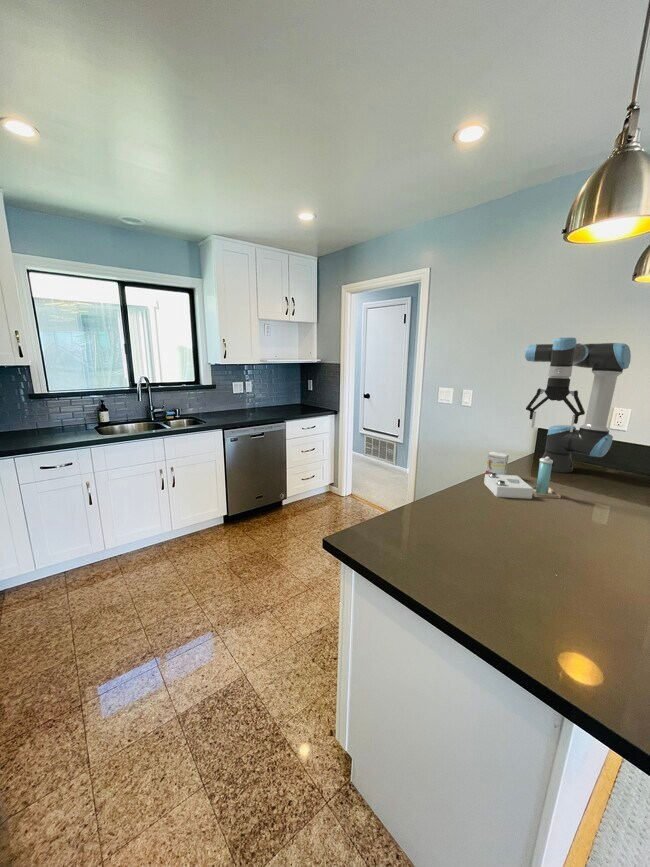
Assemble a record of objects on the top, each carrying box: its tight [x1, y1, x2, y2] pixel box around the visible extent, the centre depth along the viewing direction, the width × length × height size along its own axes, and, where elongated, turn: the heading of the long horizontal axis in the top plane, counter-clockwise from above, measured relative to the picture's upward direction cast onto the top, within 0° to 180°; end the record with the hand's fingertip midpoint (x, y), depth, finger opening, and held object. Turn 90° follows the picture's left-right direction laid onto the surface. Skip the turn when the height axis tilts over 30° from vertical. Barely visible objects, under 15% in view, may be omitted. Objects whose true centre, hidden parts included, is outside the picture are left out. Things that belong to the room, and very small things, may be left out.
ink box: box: [485, 451, 509, 475], centre depth 171 cm, size 9×5×12 cm, turn 50°
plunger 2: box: [498, 480, 505, 486], centre depth 148 cm, size 3×3×5 cm
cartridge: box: [536, 457, 553, 494], centre depth 149 cm, size 5×5×16 cm
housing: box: [483, 473, 533, 500], centre depth 153 cm, size 16×14×5 cm
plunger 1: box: [490, 473, 497, 478], centre depth 158 cm, size 3×3×5 cm
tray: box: [530, 485, 561, 499], centre depth 151 cm, size 10×10×2 cm
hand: (551, 429), depth 145 cm, fingers open, 13 cm apart
